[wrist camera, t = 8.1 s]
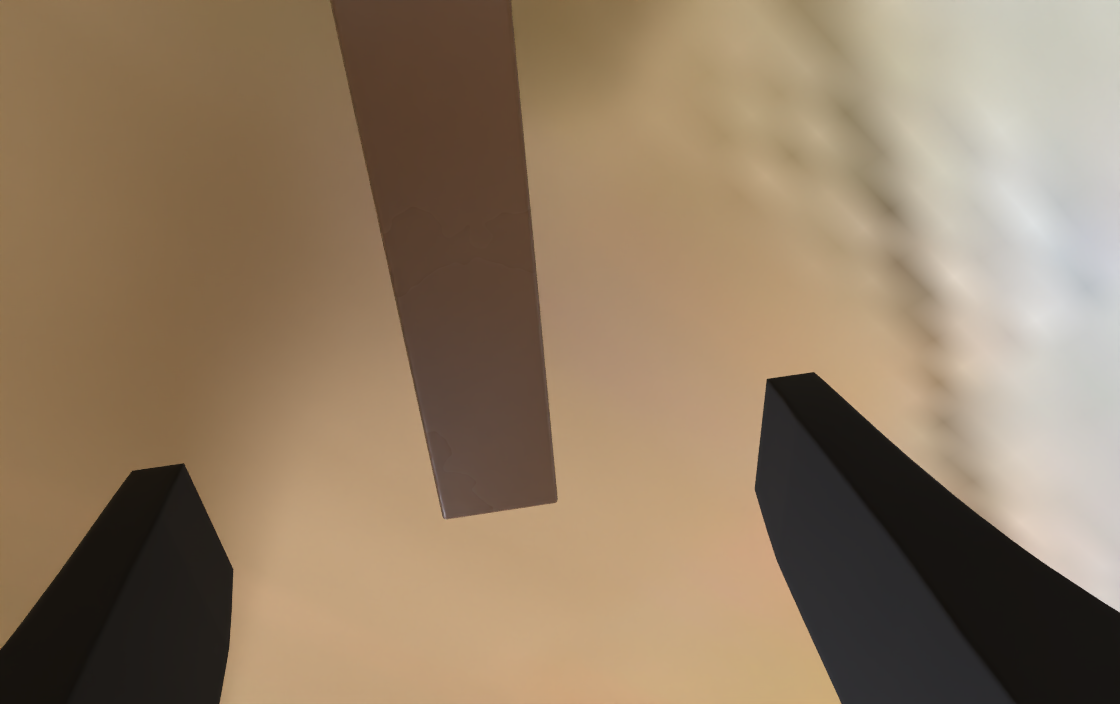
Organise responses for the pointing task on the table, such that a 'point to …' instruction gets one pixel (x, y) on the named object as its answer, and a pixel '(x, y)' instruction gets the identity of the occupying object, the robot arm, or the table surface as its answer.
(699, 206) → the table surface
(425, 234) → the pan
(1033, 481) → the table surface
